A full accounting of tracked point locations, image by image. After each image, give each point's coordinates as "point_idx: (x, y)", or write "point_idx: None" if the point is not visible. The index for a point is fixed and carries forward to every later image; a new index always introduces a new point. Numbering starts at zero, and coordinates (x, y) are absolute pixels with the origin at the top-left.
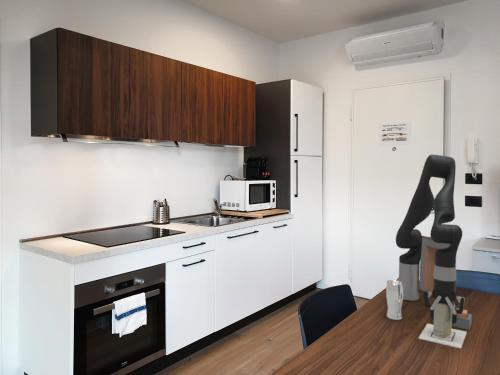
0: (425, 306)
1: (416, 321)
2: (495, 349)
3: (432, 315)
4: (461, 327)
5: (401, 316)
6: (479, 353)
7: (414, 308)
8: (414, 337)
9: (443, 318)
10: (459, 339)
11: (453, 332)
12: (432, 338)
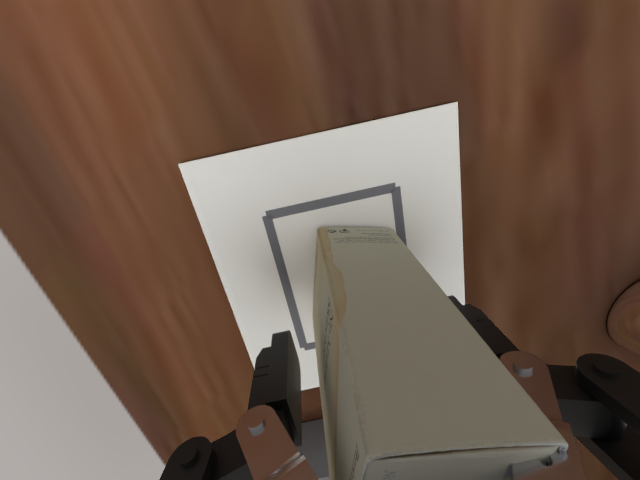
0: (611, 357)
1: (524, 344)
2: (55, 308)
3: (466, 315)
4: (307, 425)
5: (622, 327)
6: (70, 183)
7: None
8: (483, 103)
9: (350, 302)
10: (245, 279)
11: (312, 343)
12: (376, 166)
